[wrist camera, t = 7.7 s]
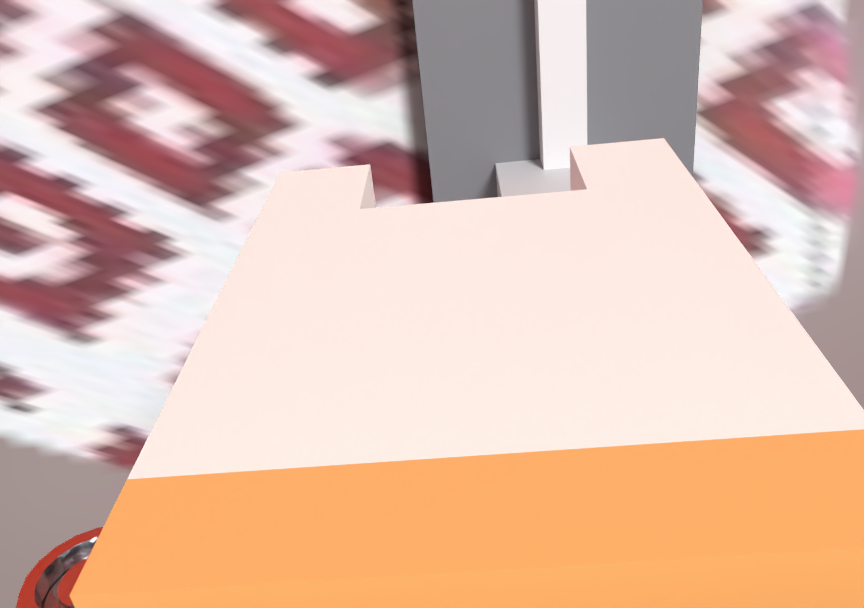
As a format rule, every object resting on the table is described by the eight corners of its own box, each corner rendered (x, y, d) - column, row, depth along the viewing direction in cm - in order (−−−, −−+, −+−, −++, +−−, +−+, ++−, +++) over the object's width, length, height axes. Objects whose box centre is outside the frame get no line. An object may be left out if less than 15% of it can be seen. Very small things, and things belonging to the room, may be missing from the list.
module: (346, 513, 14) (269, 1046, 8) (280, 172, 11) (69, 595, 5) (650, 493, 14) (818, 1031, 7) (663, 138, 11) (960, 541, 4)
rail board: (445, 298, 36) (446, 368, 31) (409, -46, 29) (404, -25, 25) (676, 279, 36) (714, 347, 31) (694, -77, 29) (746, -61, 24)
